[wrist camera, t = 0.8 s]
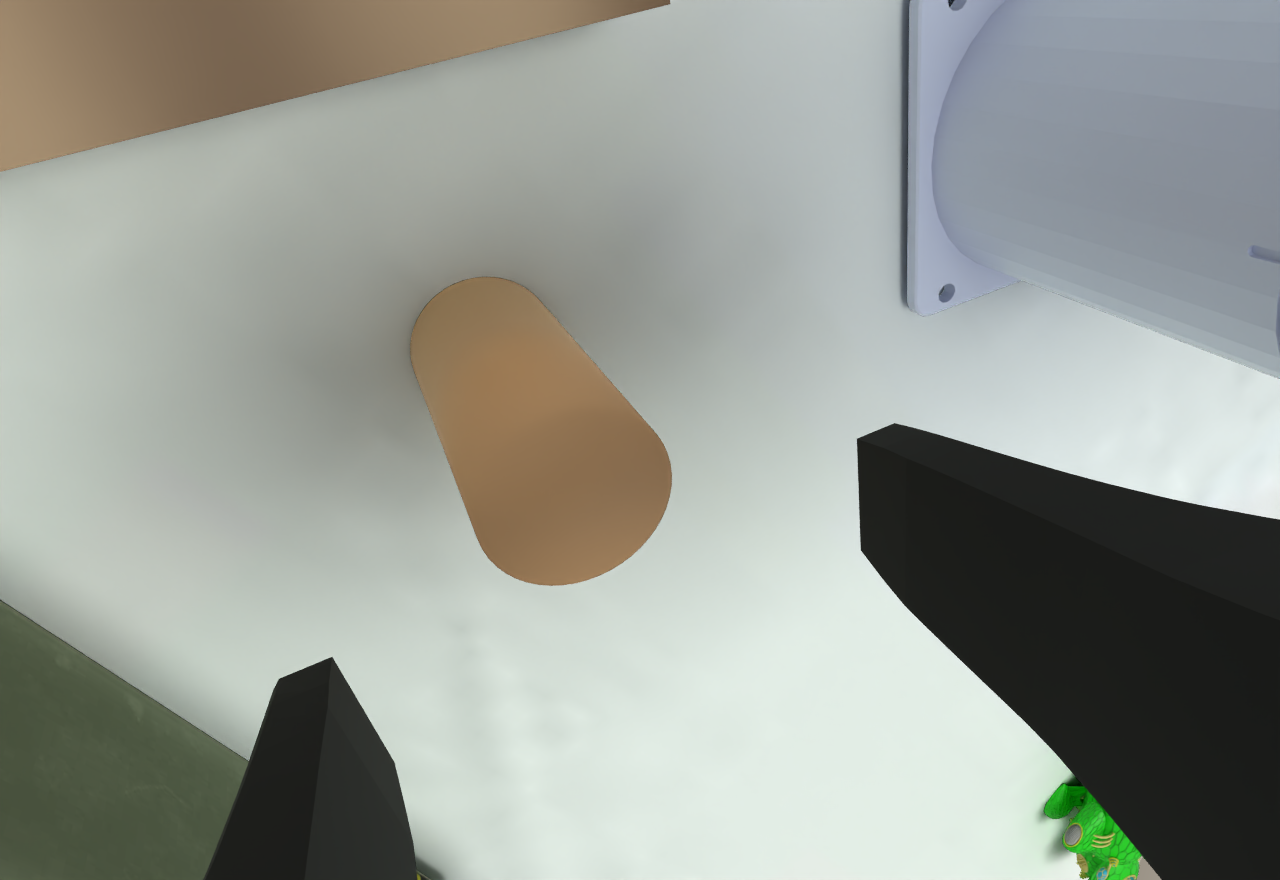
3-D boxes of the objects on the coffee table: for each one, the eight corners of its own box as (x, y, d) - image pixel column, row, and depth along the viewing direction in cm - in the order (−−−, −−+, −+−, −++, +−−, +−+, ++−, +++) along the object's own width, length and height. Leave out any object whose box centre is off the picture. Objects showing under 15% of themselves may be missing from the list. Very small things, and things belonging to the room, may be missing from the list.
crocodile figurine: (1015, 875, 44) (1079, 950, 40) (1083, 644, 34) (1173, 717, 31) (1105, 827, 46) (1173, 895, 42) (1192, 596, 36) (1289, 660, 33)
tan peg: (534, 257, 17) (653, 377, 12) (568, 385, 19) (685, 539, 13) (387, 304, 16) (444, 454, 11) (437, 432, 18) (507, 614, 13)
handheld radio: (373, 937, 26) (-731, 350, 11) (458, 874, 26) (-499, 221, 11) (409, 1183, 20) (-1673, 680, 6) (516, 1097, 21) (-1171, 411, 6)
